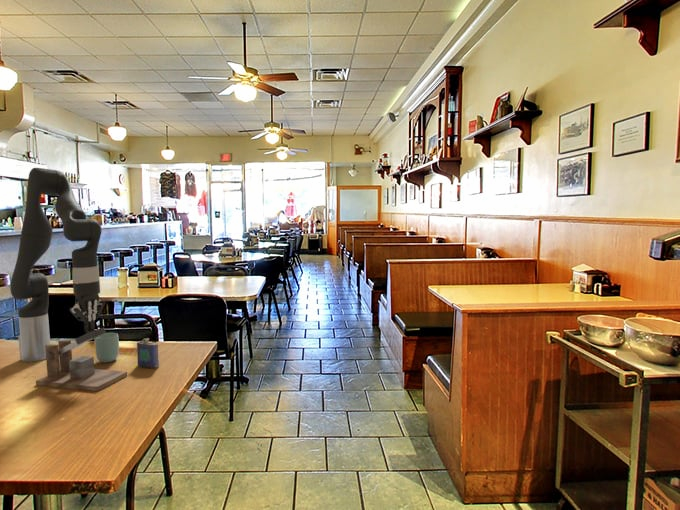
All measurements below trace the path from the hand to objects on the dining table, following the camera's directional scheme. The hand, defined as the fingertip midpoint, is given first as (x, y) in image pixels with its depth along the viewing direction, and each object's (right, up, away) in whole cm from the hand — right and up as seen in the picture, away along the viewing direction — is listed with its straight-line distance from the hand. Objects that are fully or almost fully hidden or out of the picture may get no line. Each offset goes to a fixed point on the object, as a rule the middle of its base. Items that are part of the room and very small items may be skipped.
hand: (90, 331), depth 139 cm
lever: (-5, -5, +2) cm, 7 cm away
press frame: (-4, -17, +3) cm, 17 cm away
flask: (+12, -16, +15) cm, 25 cm away
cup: (-6, -15, +21) cm, 27 cm away
